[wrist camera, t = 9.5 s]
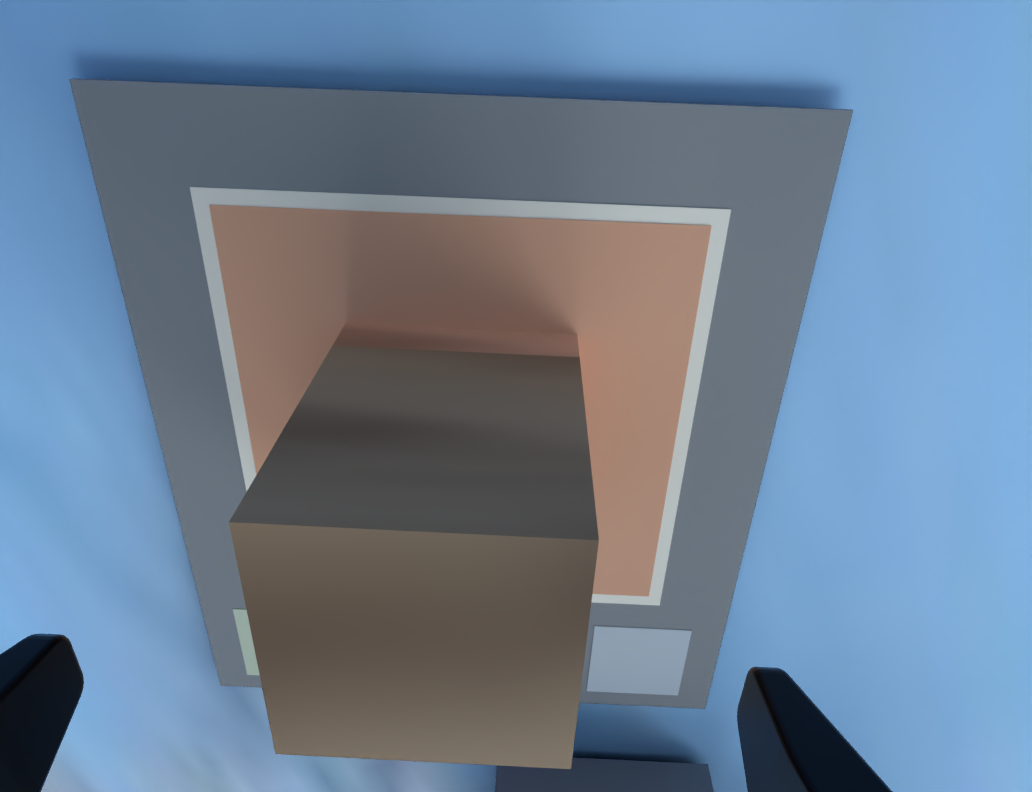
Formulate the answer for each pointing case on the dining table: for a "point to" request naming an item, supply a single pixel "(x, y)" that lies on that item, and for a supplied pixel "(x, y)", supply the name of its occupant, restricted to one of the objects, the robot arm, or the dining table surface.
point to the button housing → (606, 777)
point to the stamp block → (426, 550)
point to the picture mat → (478, 305)
